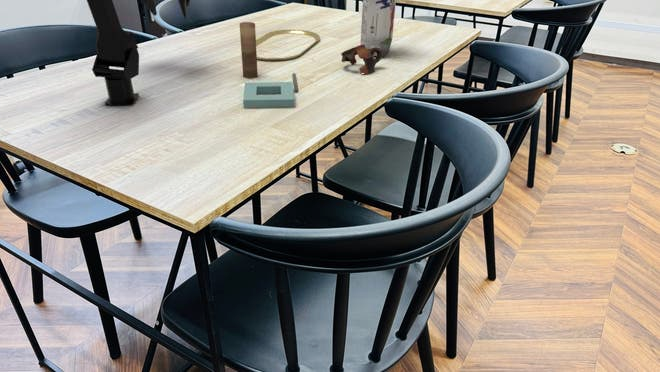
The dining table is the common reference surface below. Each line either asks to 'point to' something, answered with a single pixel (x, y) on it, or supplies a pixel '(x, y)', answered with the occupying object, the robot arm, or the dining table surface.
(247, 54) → the dowel
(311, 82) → the dining table surface
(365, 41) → the juice carton
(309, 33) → the gold oval loop
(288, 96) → the square ring
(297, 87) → the grey thin rod
